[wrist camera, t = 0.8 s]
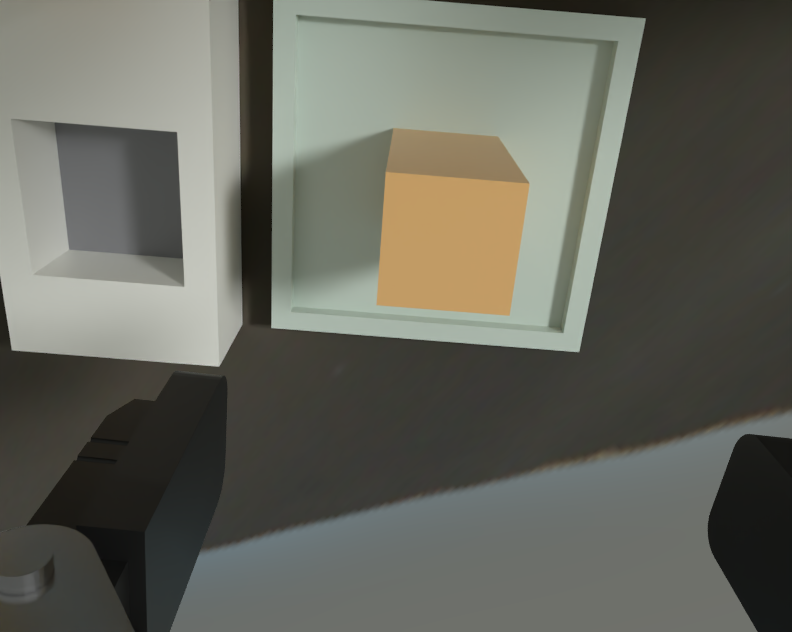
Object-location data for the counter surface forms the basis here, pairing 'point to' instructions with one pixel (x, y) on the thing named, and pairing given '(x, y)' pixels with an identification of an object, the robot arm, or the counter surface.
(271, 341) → the counter surface
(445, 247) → the plug
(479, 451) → the counter surface
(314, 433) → the counter surface
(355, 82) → the tray
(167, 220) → the power strip
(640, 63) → the counter surface
